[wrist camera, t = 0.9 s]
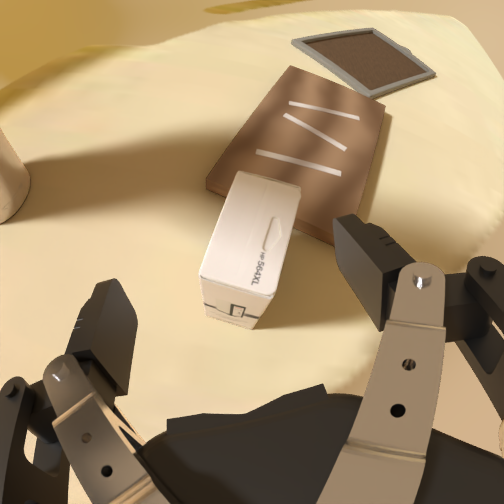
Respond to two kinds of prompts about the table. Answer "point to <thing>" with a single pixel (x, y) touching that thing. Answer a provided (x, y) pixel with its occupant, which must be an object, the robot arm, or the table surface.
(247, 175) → the ink box
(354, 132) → the walnut board
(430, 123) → the table surface
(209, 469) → the robot arm
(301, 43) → the grey framed brown panel
